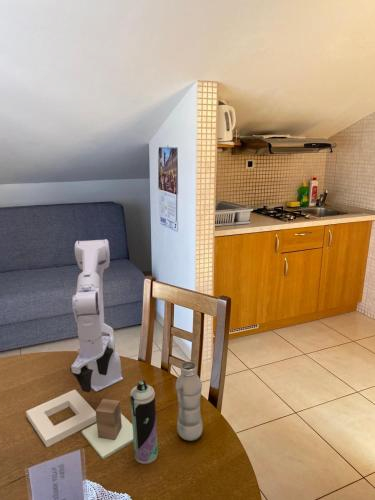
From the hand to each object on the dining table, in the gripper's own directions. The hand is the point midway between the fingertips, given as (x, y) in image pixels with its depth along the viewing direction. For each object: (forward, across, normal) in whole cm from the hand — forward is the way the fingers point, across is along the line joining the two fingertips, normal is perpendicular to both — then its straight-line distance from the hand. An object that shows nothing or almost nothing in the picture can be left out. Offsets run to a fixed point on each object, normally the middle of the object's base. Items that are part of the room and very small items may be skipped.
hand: (94, 382), depth 103 cm
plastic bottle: (+11, -2, +26) cm, 28 cm away
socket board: (+10, +4, -8) cm, 14 cm away
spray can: (+11, +8, +18) cm, 23 cm away
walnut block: (+10, +5, +7) cm, 13 cm away
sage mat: (+10, +5, +7) cm, 14 cm away
